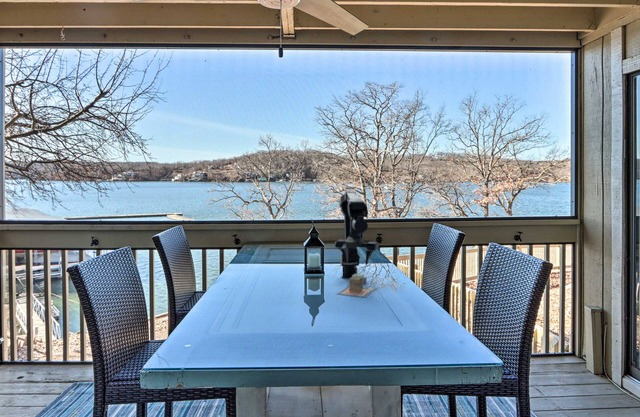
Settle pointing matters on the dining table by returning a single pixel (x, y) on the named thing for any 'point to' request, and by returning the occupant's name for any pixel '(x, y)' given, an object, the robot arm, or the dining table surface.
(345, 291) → the picture mat
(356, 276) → the button
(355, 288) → the block
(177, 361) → the dining table surface
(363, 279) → the button housing
